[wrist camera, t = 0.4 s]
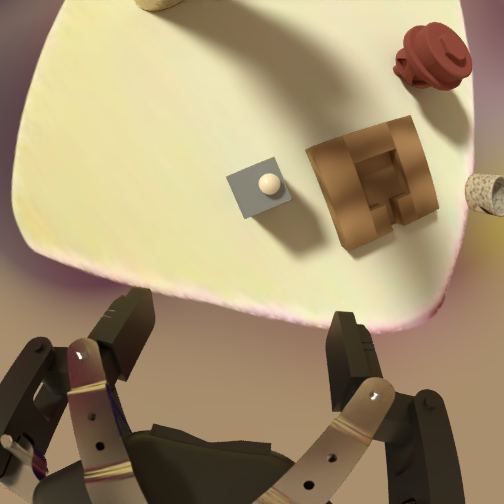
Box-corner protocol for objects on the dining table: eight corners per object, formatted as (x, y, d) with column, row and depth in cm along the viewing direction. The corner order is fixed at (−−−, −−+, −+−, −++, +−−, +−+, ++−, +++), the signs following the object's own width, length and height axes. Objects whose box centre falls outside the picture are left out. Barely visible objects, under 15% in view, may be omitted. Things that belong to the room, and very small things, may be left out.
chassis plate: (305, 149, 35) (310, 147, 32) (400, 118, 34) (410, 115, 31) (341, 245, 39) (349, 251, 36) (428, 206, 38) (439, 208, 35)
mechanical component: (377, 80, 33) (386, 34, 31) (429, 110, 34) (435, 64, 32) (421, 52, 21) (425, 1, 19) (480, 97, 22) (480, 43, 20)
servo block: (229, 178, 36) (225, 176, 26) (265, 163, 36) (275, 156, 26) (243, 209, 37) (244, 220, 27) (279, 194, 37) (293, 200, 27)
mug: (466, 213, 38) (491, 219, 32) (462, 174, 37) (489, 176, 30) (497, 206, 38) (521, 211, 32) (494, 171, 36) (518, 173, 30)
